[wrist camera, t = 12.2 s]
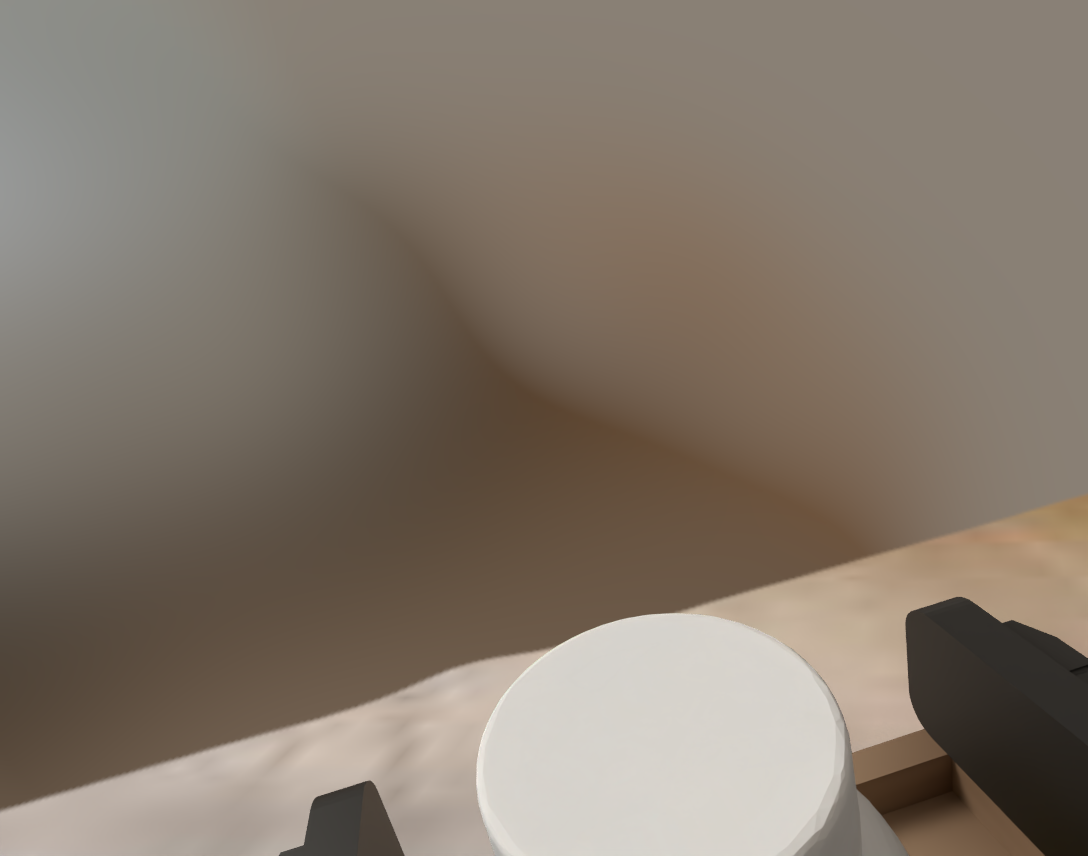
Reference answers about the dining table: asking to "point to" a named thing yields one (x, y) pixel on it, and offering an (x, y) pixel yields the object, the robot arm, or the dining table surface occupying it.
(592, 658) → the supplement bottle
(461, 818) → the dining table surface
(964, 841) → the tray
